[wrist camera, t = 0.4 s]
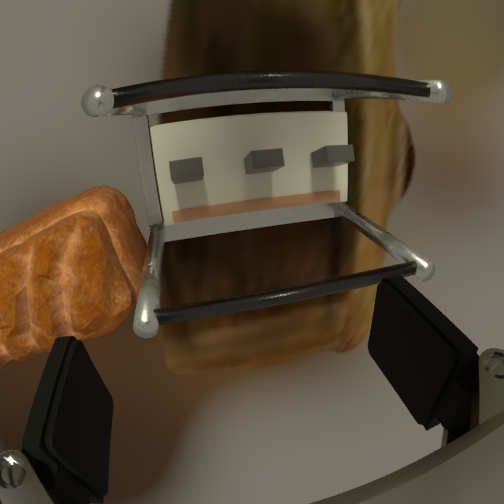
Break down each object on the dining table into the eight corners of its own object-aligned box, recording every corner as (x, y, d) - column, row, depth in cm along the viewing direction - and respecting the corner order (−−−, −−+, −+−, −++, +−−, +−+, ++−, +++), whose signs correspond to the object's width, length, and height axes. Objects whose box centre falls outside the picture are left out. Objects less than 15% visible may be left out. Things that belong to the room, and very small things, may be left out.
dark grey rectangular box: (243, 158, 31) (250, 150, 27) (271, 155, 31) (282, 148, 27) (245, 174, 31) (253, 169, 27) (273, 171, 31) (284, 165, 27)
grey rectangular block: (172, 168, 29) (168, 161, 26) (200, 163, 30) (201, 156, 26) (174, 184, 30) (170, 180, 26) (202, 179, 30) (204, 175, 26)
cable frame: (131, 97, 31) (79, 84, 14) (339, 82, 35) (450, 78, 18) (153, 240, 38) (137, 342, 21) (341, 213, 42) (432, 282, 25)
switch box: (155, 125, 33) (149, 127, 27) (323, 110, 36) (347, 112, 30) (167, 208, 37) (164, 226, 32) (325, 188, 40) (348, 201, 35)
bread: (161, 271, 41) (157, 352, 27) (16, 323, 39) (-20, 394, 25) (119, 171, 34) (82, 211, 21) (-29, 247, 32) (-86, 304, 19)
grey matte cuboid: (310, 152, 32) (325, 145, 28) (335, 151, 32) (352, 144, 28) (313, 167, 32) (328, 162, 28) (337, 166, 32) (355, 161, 28)
